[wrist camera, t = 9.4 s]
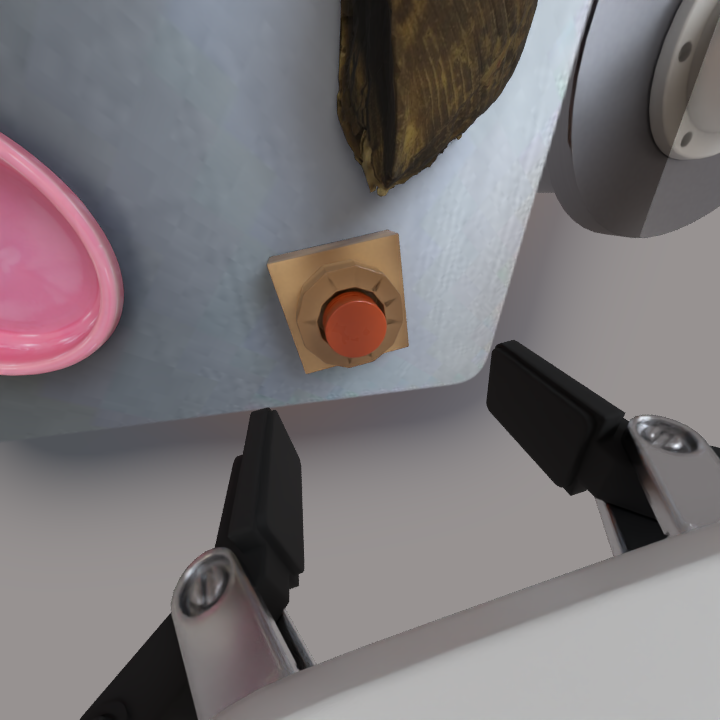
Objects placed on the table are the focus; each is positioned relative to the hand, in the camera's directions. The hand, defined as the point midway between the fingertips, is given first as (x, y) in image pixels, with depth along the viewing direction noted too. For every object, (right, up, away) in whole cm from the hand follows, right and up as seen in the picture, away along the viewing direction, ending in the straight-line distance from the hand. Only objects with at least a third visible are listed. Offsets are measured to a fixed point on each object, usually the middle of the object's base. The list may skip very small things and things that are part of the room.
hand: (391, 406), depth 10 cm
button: (-2, +4, +7) cm, 8 cm away
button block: (-2, +6, +10) cm, 12 cm away
